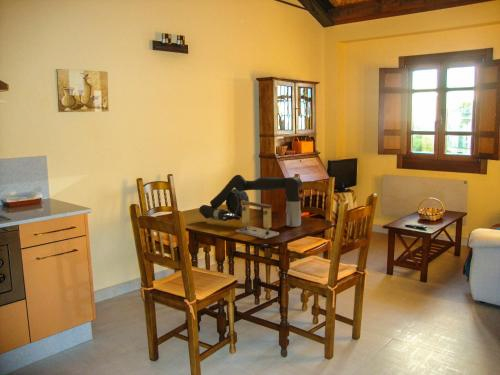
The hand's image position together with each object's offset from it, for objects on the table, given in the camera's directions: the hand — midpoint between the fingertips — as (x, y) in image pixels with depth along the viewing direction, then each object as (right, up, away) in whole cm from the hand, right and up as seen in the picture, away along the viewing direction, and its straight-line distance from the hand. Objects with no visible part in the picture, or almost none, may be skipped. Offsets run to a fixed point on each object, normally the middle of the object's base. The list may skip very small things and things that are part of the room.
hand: (239, 218), depth 309 cm
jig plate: (+12, -9, -10) cm, 18 cm away
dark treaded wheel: (-2, 0, +48) cm, 48 cm away
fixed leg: (+18, -8, -17) cm, 26 cm away
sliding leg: (+5, -7, -4) cm, 9 cm away
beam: (+11, +8, -12) cm, 19 cm away
